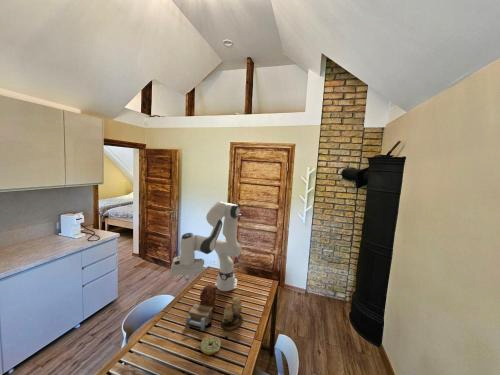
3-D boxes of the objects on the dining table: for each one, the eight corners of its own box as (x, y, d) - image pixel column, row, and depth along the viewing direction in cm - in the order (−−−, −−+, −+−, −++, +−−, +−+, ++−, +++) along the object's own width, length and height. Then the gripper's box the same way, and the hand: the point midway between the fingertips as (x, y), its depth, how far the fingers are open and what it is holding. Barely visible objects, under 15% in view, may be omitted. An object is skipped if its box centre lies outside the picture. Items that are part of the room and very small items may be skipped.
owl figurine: (232, 311, 154) (234, 288, 153) (247, 318, 148) (248, 294, 147) (216, 327, 139) (217, 301, 137) (232, 335, 133) (233, 308, 131)
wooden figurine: (205, 316, 147) (206, 291, 146) (198, 313, 151) (199, 287, 149) (217, 308, 157) (218, 283, 156) (210, 304, 161) (211, 280, 159)
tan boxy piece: (194, 313, 150) (194, 303, 150) (212, 317, 148) (213, 307, 147) (184, 327, 137) (185, 316, 136) (204, 331, 134) (204, 320, 134)
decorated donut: (222, 354, 119) (222, 347, 119) (202, 359, 115) (202, 352, 115) (217, 339, 129) (218, 333, 129) (199, 343, 125) (199, 337, 125)
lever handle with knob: (185, 326, 137) (185, 315, 137) (187, 323, 140) (187, 313, 139) (203, 331, 134) (203, 320, 133) (205, 328, 136) (205, 318, 136)
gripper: (204, 256, 145) (203, 276, 146) (171, 258, 140) (171, 278, 141) (204, 260, 138) (204, 281, 140) (169, 262, 134) (169, 284, 135)
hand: (187, 280), depth 141 cm, fingers closed
